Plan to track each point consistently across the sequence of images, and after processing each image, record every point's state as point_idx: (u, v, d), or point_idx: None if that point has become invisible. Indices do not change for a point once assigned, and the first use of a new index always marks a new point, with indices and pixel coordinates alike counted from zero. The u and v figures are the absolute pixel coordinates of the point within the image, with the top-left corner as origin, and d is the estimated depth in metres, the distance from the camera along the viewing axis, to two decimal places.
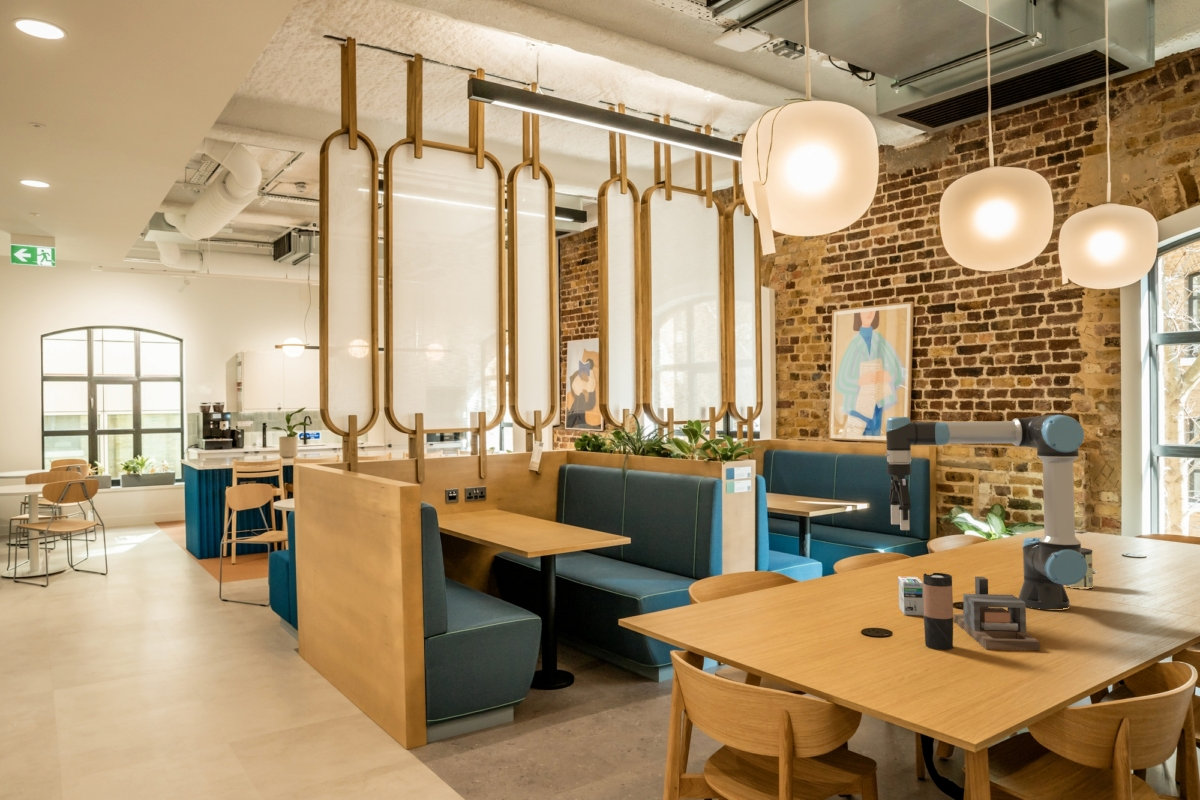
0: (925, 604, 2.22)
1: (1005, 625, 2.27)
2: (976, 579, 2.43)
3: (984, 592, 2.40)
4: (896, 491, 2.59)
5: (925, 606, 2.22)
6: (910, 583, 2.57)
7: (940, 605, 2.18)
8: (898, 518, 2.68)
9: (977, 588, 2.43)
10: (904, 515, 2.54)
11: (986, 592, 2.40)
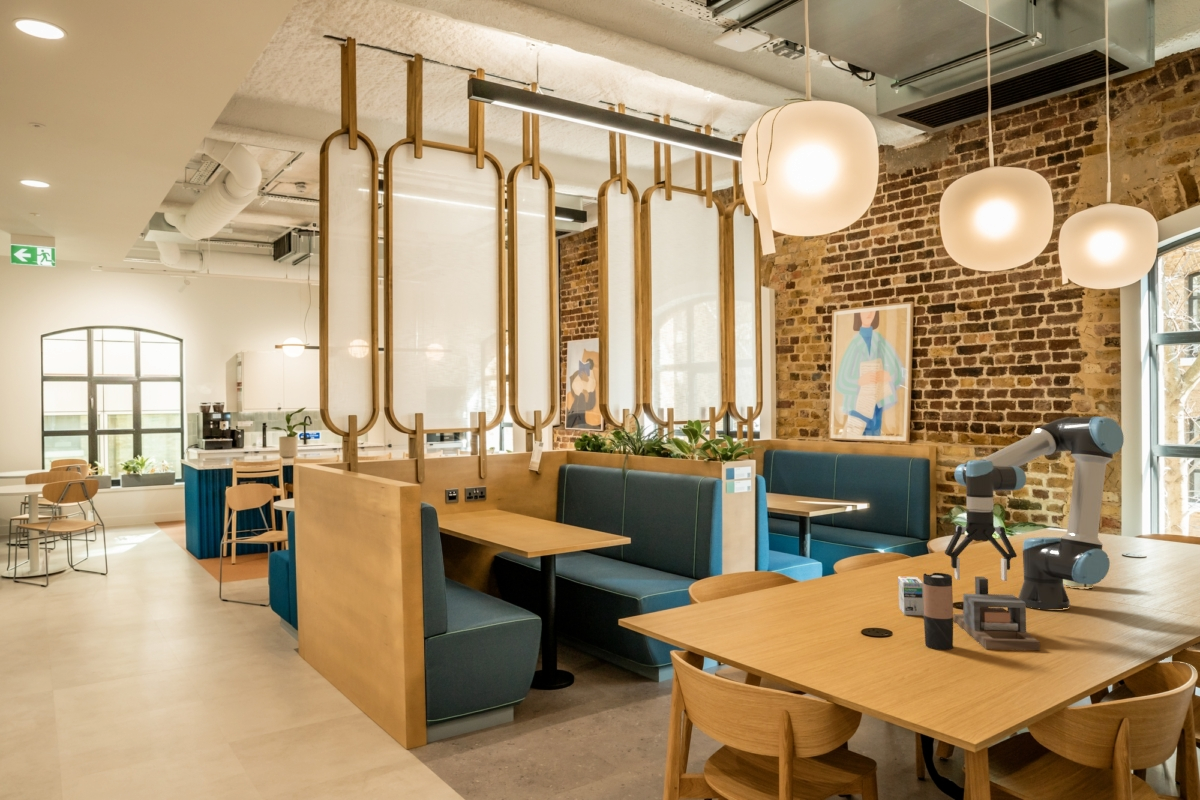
0: (925, 604, 2.22)
1: (1005, 625, 2.27)
2: (976, 579, 2.43)
3: (984, 592, 2.40)
4: None
5: (925, 606, 2.22)
6: (910, 583, 2.57)
7: (940, 605, 2.18)
8: (1003, 574, 2.41)
9: (977, 588, 2.43)
10: (951, 562, 2.44)
11: (986, 592, 2.40)
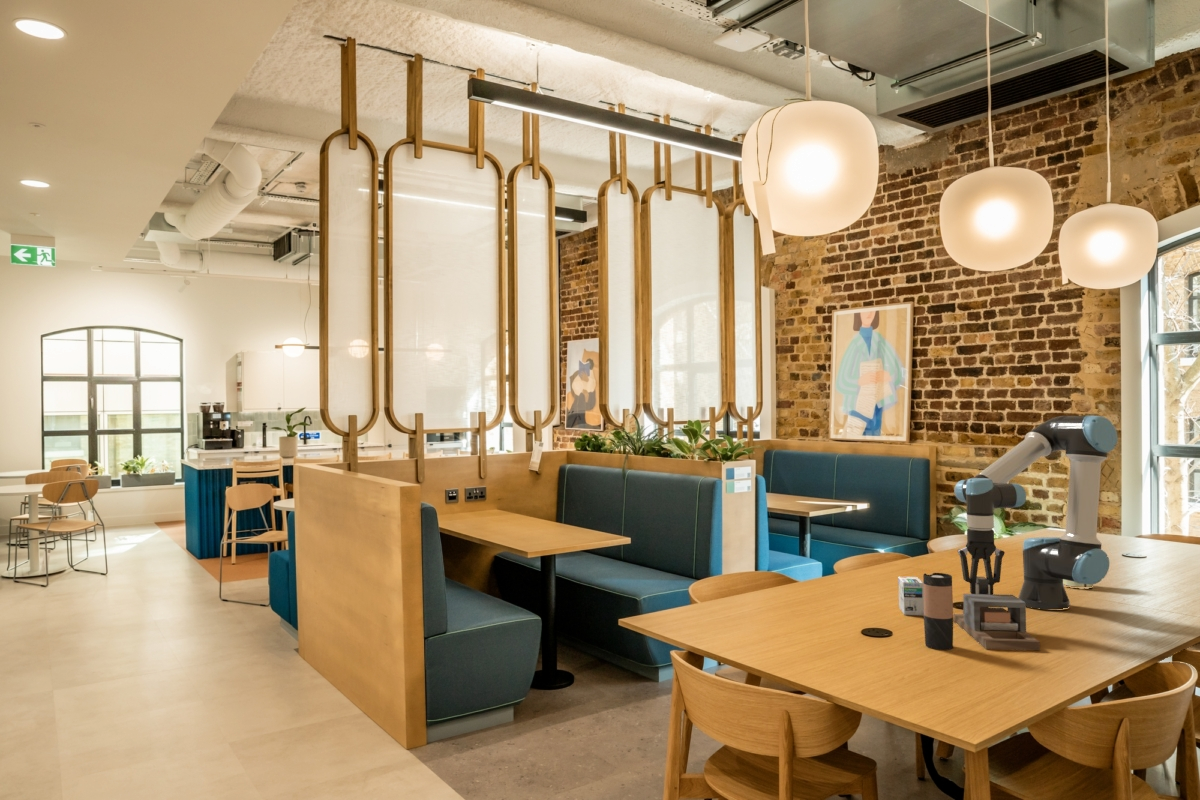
0: (925, 604, 2.22)
1: (1005, 625, 2.27)
2: (976, 579, 2.43)
3: (984, 592, 2.40)
4: None
5: (925, 606, 2.22)
6: (910, 583, 2.57)
7: (940, 605, 2.18)
8: None
9: None
10: (970, 588, 2.43)
11: (986, 592, 2.40)
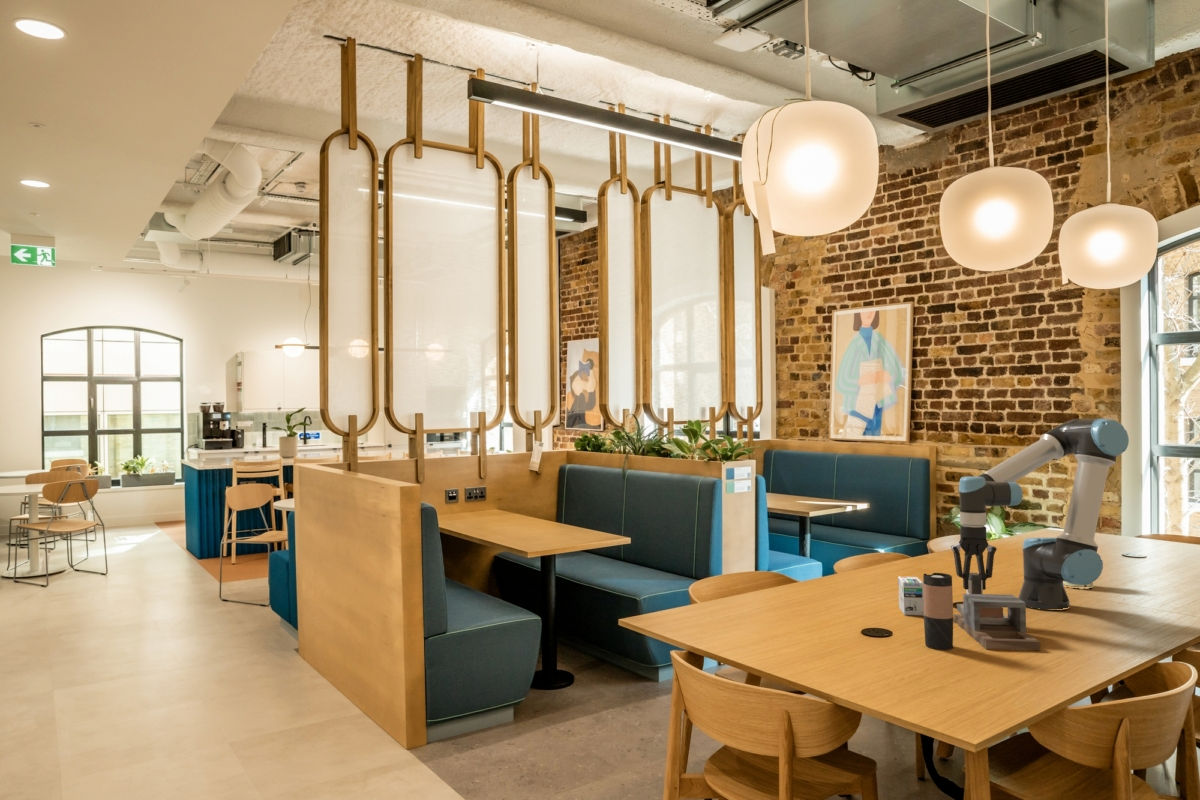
0: (925, 604, 2.22)
1: (997, 619, 2.33)
2: (969, 575, 2.50)
3: (977, 588, 2.47)
4: None
5: (925, 606, 2.22)
6: (910, 583, 2.57)
7: (940, 605, 2.18)
8: None
9: None
10: (963, 584, 2.50)
11: (979, 588, 2.47)
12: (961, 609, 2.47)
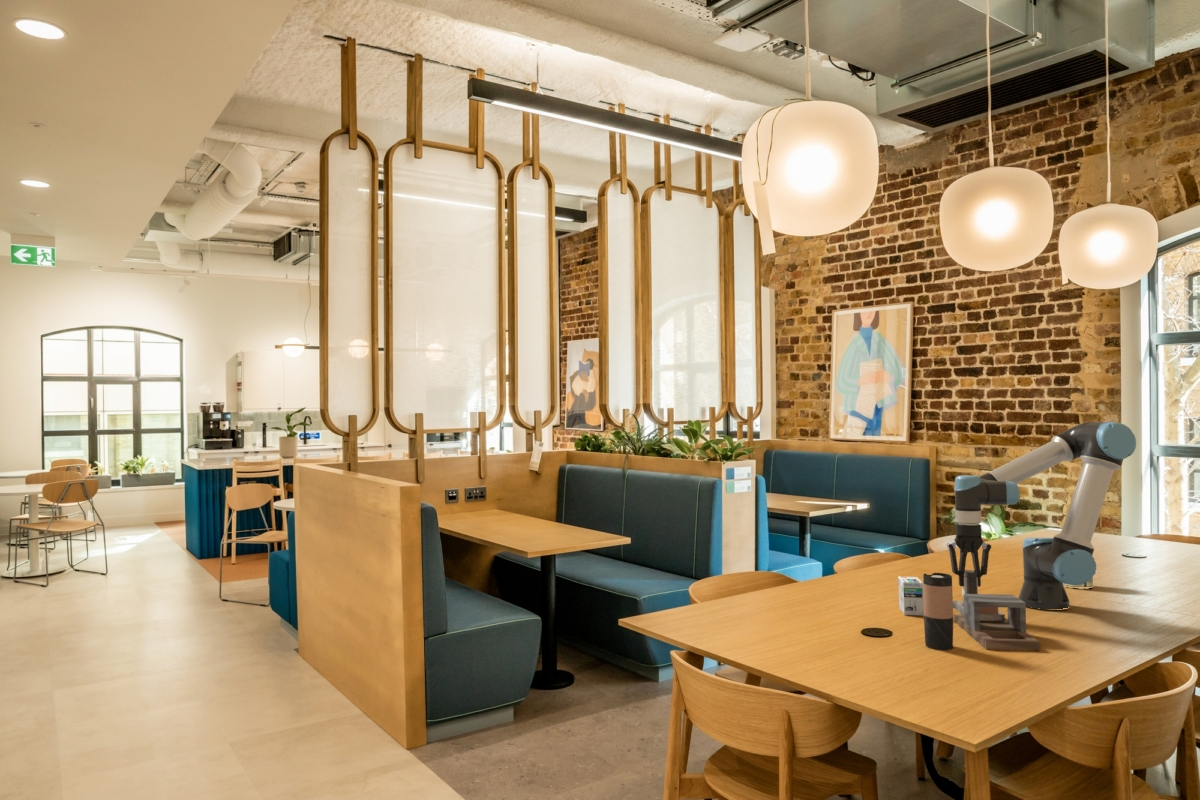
0: (925, 604, 2.22)
1: (992, 616, 2.38)
2: (965, 572, 2.54)
3: (972, 585, 2.51)
4: None
5: (925, 606, 2.22)
6: (910, 583, 2.57)
7: (940, 605, 2.18)
8: None
9: None
10: (959, 581, 2.55)
11: (975, 585, 2.51)
12: (957, 606, 2.51)
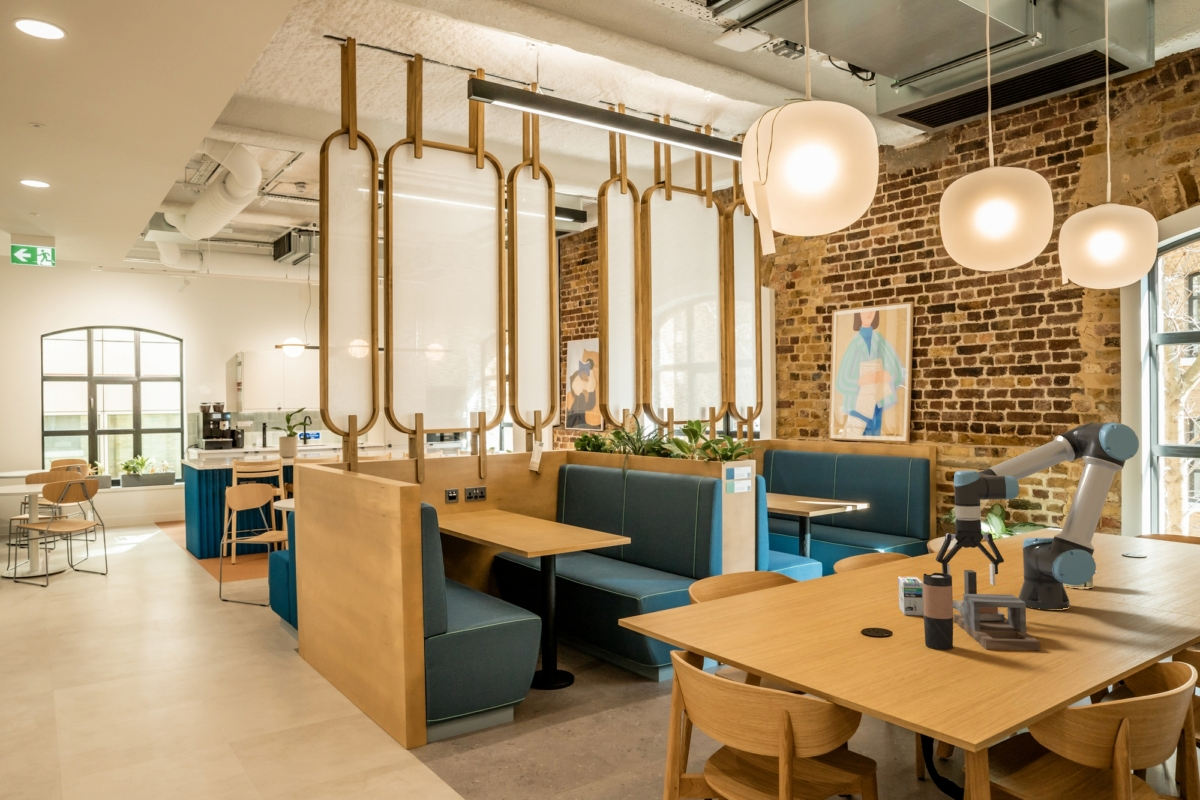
0: (925, 604, 2.22)
1: (992, 616, 2.38)
2: (965, 572, 2.54)
3: (972, 585, 2.51)
4: None
5: (925, 606, 2.22)
6: (910, 583, 2.57)
7: (940, 605, 2.18)
8: (992, 578, 2.52)
9: (966, 581, 2.54)
10: (942, 569, 2.56)
11: (974, 584, 2.51)
12: (957, 606, 2.51)
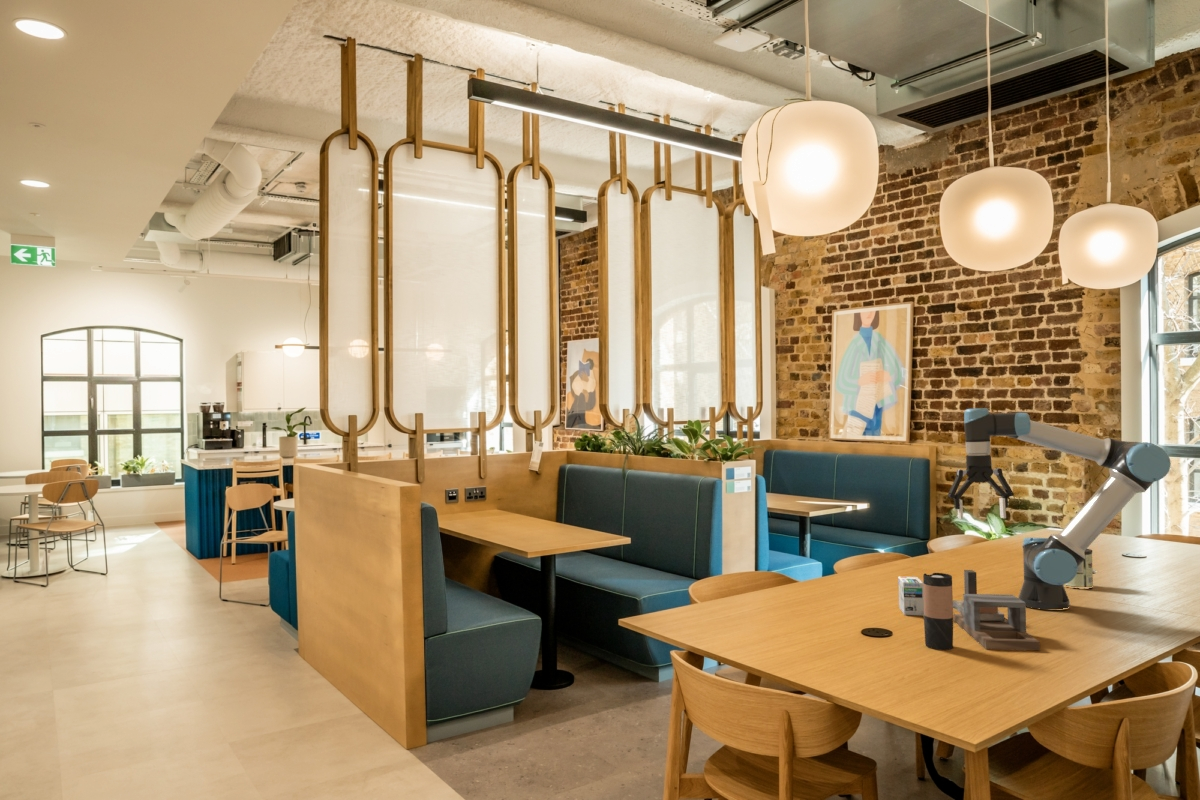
0: (925, 604, 2.22)
1: (992, 616, 2.38)
2: (965, 572, 2.54)
3: (972, 585, 2.51)
4: None
5: (925, 606, 2.22)
6: (910, 583, 2.57)
7: (940, 605, 2.18)
8: (1002, 512, 2.60)
9: (966, 581, 2.54)
10: (954, 504, 2.63)
11: (974, 584, 2.51)
12: (957, 606, 2.51)
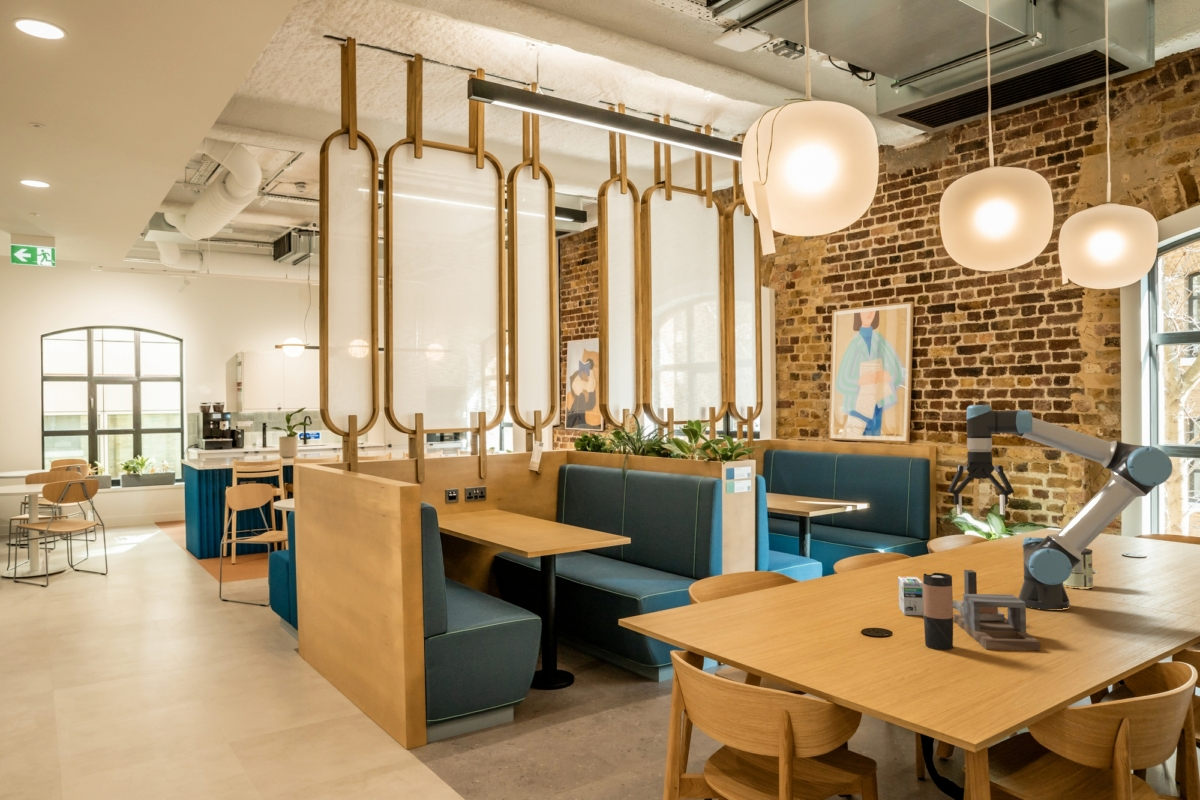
0: (925, 604, 2.22)
1: (992, 616, 2.38)
2: (965, 572, 2.54)
3: (972, 585, 2.51)
4: None
5: (925, 606, 2.22)
6: (910, 583, 2.57)
7: (940, 605, 2.18)
8: (1002, 508, 2.61)
9: (966, 581, 2.54)
10: (954, 499, 2.65)
11: (974, 584, 2.51)
12: (957, 606, 2.51)
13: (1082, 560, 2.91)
